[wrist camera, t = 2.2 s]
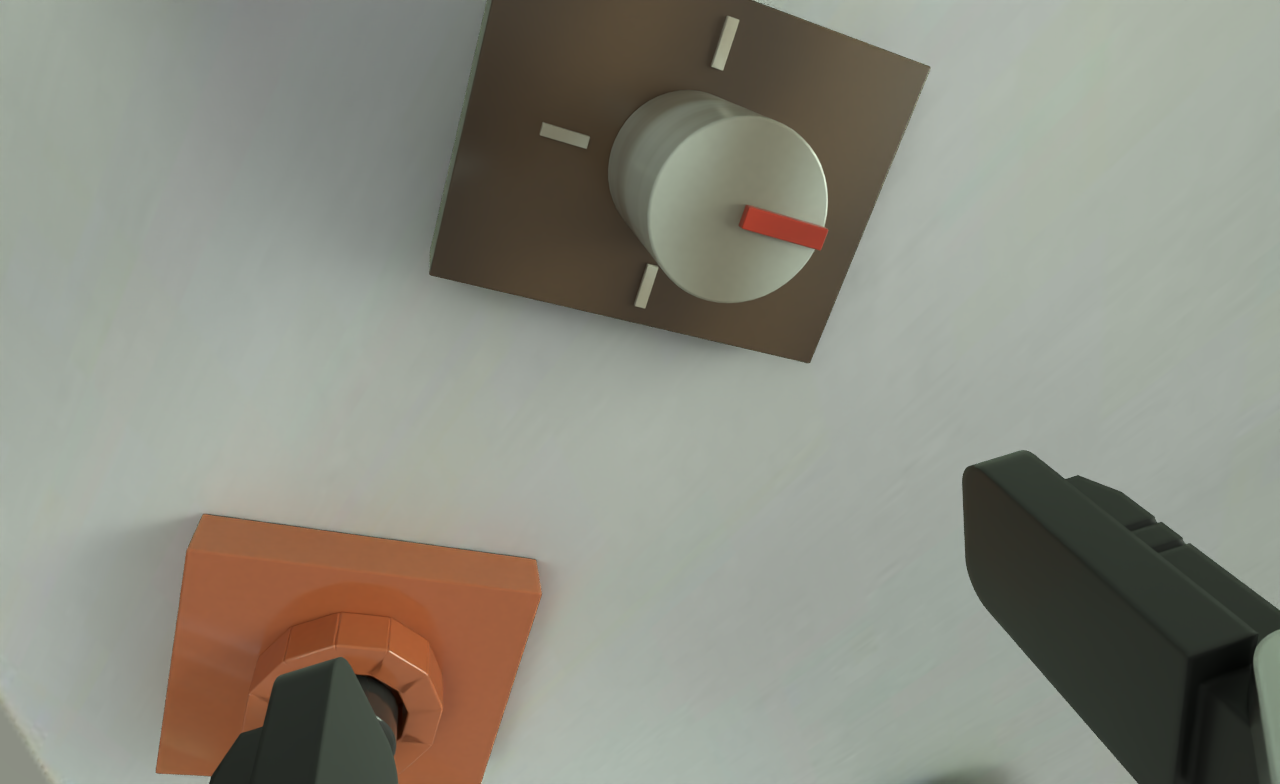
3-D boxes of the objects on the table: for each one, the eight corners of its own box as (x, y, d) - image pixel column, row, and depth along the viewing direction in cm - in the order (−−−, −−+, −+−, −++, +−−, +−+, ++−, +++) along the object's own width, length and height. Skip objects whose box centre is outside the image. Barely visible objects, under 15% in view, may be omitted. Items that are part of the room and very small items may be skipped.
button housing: (171, 728, 33) (139, 816, 30) (202, 512, 30) (170, 583, 26) (477, 748, 37) (481, 829, 34) (536, 558, 34) (548, 626, 30)
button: (283, 746, 30) (275, 787, 29) (300, 667, 29) (292, 706, 28) (387, 753, 32) (385, 792, 30) (407, 677, 30) (406, 714, 29)
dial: (588, 224, 26) (625, 284, 21) (634, 68, 24) (686, 91, 19) (726, 261, 27) (793, 325, 22) (778, 116, 26) (862, 149, 21)
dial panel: (429, 252, 28) (428, 277, 25) (505, -83, 24) (512, -90, 22) (784, 337, 32) (811, 365, 29) (893, 60, 28) (934, 67, 26)
